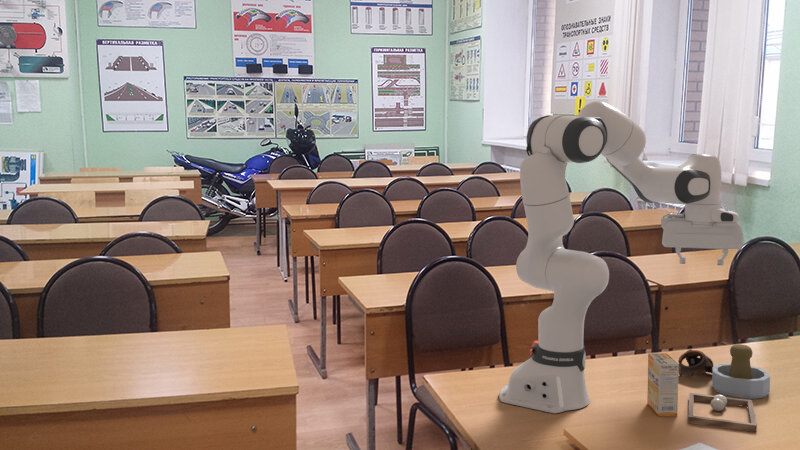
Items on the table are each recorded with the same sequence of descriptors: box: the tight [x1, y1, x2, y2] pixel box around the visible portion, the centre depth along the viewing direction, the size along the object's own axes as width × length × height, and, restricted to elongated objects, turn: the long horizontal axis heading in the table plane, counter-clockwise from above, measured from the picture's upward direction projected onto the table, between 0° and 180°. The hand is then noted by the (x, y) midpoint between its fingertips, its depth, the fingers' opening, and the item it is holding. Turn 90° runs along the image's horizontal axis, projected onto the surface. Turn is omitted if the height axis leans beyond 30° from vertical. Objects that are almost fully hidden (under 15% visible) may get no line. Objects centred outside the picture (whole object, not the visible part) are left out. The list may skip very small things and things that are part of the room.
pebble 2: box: [710, 398, 725, 412], centre depth 162 cm, size 3×3×3 cm
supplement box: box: [646, 352, 679, 417], centre depth 163 cm, size 8×5×13 cm, turn 178°
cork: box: [729, 344, 753, 379], centre depth 174 cm, size 6×6×11 cm
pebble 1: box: [714, 393, 727, 407], centre depth 164 cm, size 3×3×3 cm
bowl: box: [711, 362, 771, 400], centre depth 175 cm, size 13×13×5 cm
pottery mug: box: [677, 349, 715, 378], centre depth 187 cm, size 12×10×8 cm
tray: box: [687, 392, 758, 433], centre depth 160 cm, size 14×16×2 cm
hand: (701, 264), depth 184 cm, fingers open, 8 cm apart
